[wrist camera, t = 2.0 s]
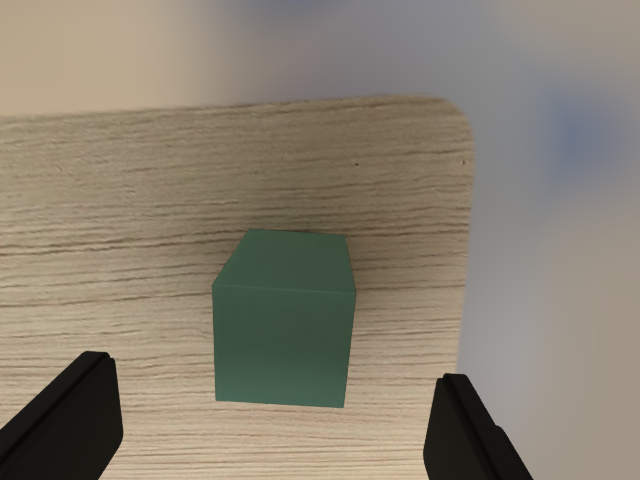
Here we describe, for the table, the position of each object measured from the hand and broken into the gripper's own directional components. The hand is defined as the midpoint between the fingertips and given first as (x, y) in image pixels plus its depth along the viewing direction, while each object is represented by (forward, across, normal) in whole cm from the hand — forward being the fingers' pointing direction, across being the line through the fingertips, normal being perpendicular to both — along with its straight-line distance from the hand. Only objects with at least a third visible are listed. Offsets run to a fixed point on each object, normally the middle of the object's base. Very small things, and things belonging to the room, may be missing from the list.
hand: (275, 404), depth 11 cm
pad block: (+8, 0, -1) cm, 8 cm away
